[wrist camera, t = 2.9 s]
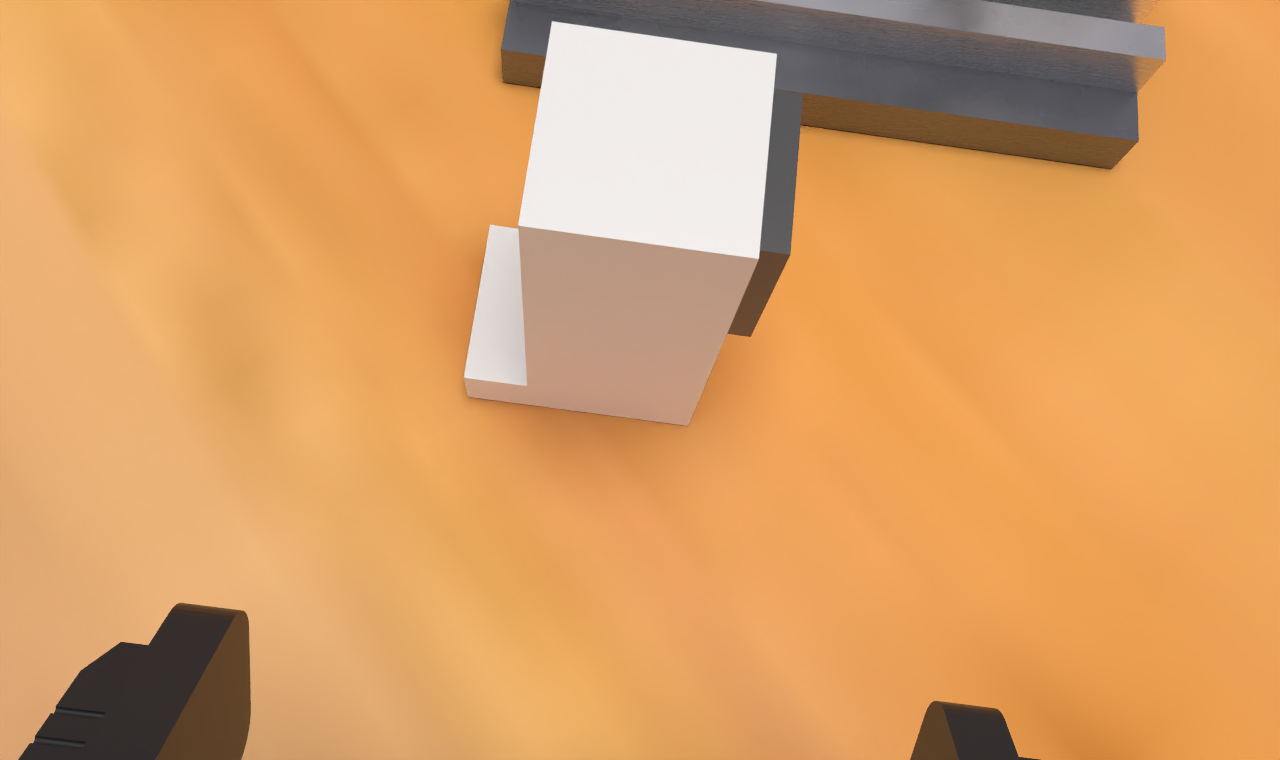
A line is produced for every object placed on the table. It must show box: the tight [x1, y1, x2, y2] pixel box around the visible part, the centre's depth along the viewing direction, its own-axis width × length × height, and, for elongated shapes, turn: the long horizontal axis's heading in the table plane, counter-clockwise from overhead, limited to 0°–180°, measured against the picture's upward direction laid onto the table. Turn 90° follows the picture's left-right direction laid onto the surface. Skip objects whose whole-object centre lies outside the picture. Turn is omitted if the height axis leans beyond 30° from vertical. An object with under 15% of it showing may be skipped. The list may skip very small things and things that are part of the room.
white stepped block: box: [464, 21, 803, 426], centre depth 24 cm, size 6×4×10 cm, turn 83°
